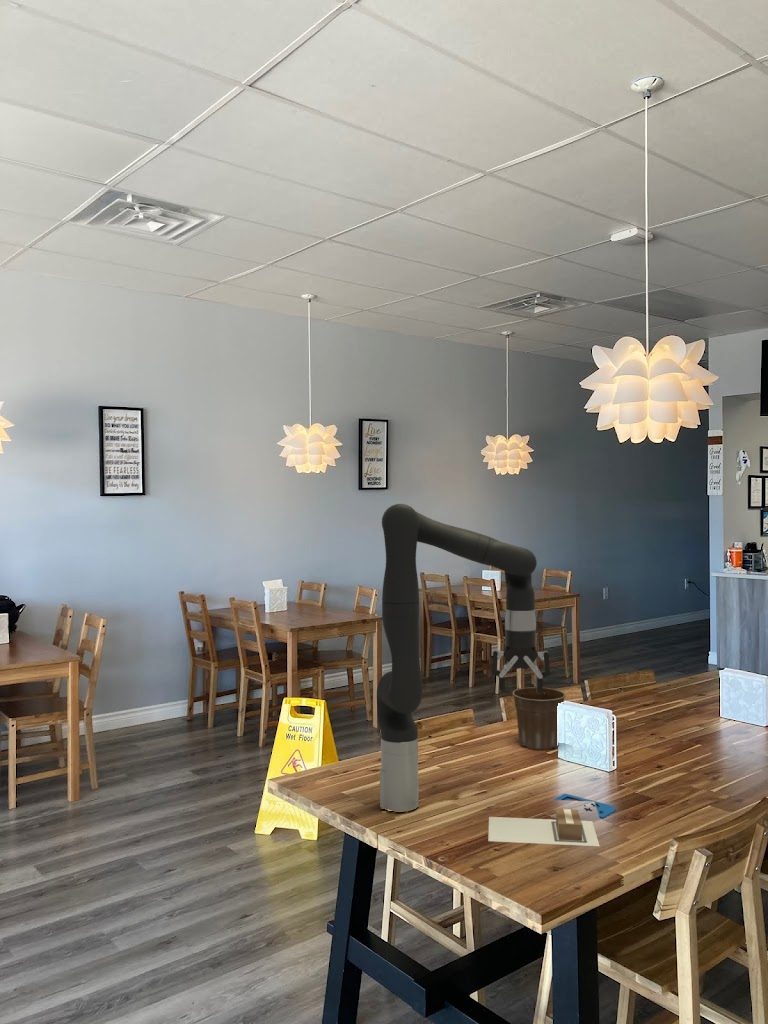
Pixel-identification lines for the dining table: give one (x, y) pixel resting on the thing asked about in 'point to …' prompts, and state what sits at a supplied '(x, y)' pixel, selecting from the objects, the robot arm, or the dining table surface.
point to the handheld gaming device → (602, 808)
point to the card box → (568, 824)
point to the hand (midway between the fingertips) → (520, 692)
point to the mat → (536, 831)
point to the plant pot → (537, 716)
